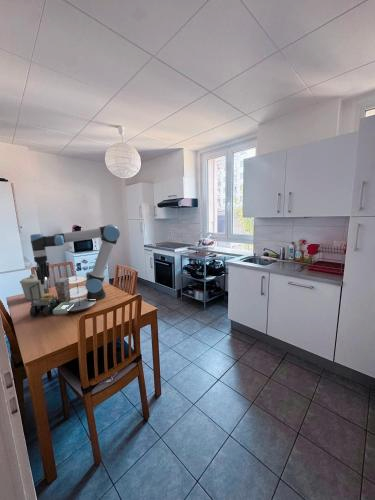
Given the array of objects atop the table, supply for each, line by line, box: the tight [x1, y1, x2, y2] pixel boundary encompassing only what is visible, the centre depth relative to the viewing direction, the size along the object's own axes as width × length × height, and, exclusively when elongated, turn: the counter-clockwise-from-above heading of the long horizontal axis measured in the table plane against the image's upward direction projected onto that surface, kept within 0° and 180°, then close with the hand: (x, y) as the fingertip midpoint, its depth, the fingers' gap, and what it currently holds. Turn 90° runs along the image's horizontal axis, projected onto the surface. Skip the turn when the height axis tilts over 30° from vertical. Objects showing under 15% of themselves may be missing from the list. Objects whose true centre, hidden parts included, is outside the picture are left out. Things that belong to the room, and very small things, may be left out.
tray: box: [52, 301, 75, 316], centre depth 158 cm, size 9×13×4 cm
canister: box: [19, 274, 46, 301], centre depth 183 cm, size 18×18×21 cm
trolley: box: [29, 283, 59, 317], centre depth 154 cm, size 12×16×22 cm
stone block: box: [54, 277, 71, 305], centre depth 170 cm, size 13×7×20 cm, turn 18°
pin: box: [44, 277, 50, 295], centre depth 153 cm, size 3×3×12 cm
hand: (45, 287), depth 154 cm, fingers closed on pin, 3 cm apart
